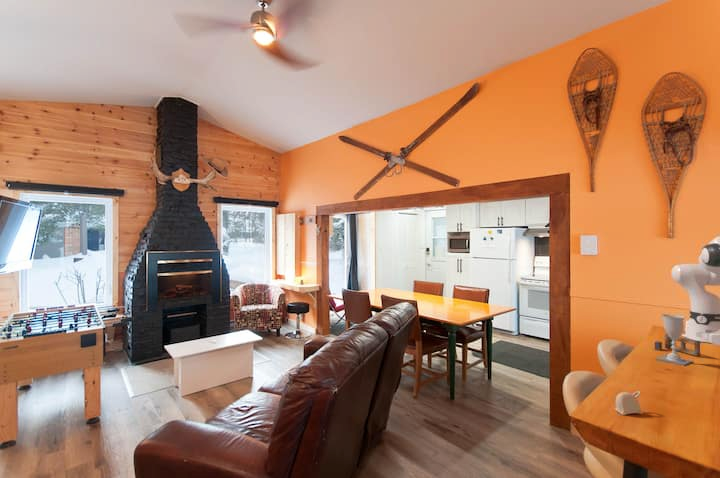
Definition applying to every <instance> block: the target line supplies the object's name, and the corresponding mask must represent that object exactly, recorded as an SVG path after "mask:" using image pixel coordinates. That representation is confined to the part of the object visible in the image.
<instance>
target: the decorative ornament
mask: <svg viewBox="0 0 720 478" xmlns="http://www.w3.org/2000/svg"><path fill="white" fill-rule="evenodd" d="M641 395H642V392H641V391H639V390H637V391H634V392H633V393H630V392H625V391H624V392H619V393H618V394H617V395H616V397H615V403H614V404H615V406H616V407H615V409H614V410H615V411H616V412H618V413H619V414H620V415H621V416H626V415H629V414H630V415H631V414H641V415H644V412H643V411H642V410H641V405H640V403H639V400H638V398H639V397H640V396H641Z"/></svg>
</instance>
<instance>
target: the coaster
mask: <svg viewBox="0 0 720 478" xmlns="http://www.w3.org/2000/svg"><path fill="white" fill-rule="evenodd" d="M667 356H668V354H663V355H660V356H658V357H655V361H661V362H665V363H670V364H674V365H678V366H682V367H683V366H684V367H685V366H687V365H690V364H691V363H693V362H694V361H693V360H692V359H686V358H682V357H681V359H682V361H672V360H668V359H666V357H667Z"/></svg>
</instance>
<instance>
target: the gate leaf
mask: <svg viewBox="0 0 720 478" xmlns="http://www.w3.org/2000/svg"><path fill="white" fill-rule="evenodd" d="M671 339H672V338H670V337H669V336H668V334H667V333H665V334H664V348H666V349H670V350H672V348H671V347H672V345H671ZM676 341H677V342H680V346H677V345H675V346H676V348H677V349H676V351H677V352H682V353H686V354H689V355H692V356H696V357H700V356H701V343H700V342H701V341H696V340H692V339H689V338H686V337H681V336H679V338H677V339H675V342H676ZM686 344H689V345H692V346H693V347H694V350H692V349H688V348H687V347H686V346H687V345H686Z"/></svg>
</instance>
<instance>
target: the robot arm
mask: <svg viewBox="0 0 720 478" xmlns="http://www.w3.org/2000/svg"><path fill="white" fill-rule="evenodd" d="M697 259H698V263H684V264H683V263H681V264H676V265H675V266H674V267H672V269H671V271H670V275H671V278H672V280H673V281H674V282H675V283H677V284H679V285H680V286H681V287H683V289H684V290H685V291H686V292H687V294H688V296H689V302H690V303H689V304H690V310H689V319H688V320H686V322H685V333H682V334H681V336H682V338H686V339H689V340H694V341H698V342H702V343H710V344H712V345H715V346H719V347H720V297H719V296H718V295H717V294H715V293H713V292H710V291H708V290H706V287H705V286H713V287H715V286H719V287H720V235H718V236H716V237H715V238H713V239H712V240H711V241H710V242H708V243H707V244H706V245H704V246H703V247H702V249H701V253H700V254H699V256H698V258H697Z"/></svg>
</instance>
